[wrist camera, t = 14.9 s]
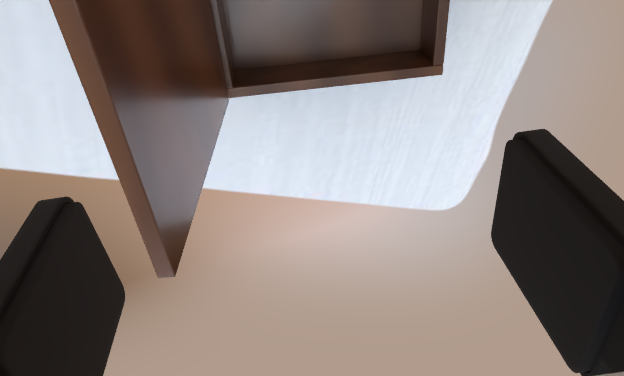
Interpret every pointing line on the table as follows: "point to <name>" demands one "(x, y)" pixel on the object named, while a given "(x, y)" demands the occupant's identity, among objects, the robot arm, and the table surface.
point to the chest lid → (152, 105)
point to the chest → (326, 42)
